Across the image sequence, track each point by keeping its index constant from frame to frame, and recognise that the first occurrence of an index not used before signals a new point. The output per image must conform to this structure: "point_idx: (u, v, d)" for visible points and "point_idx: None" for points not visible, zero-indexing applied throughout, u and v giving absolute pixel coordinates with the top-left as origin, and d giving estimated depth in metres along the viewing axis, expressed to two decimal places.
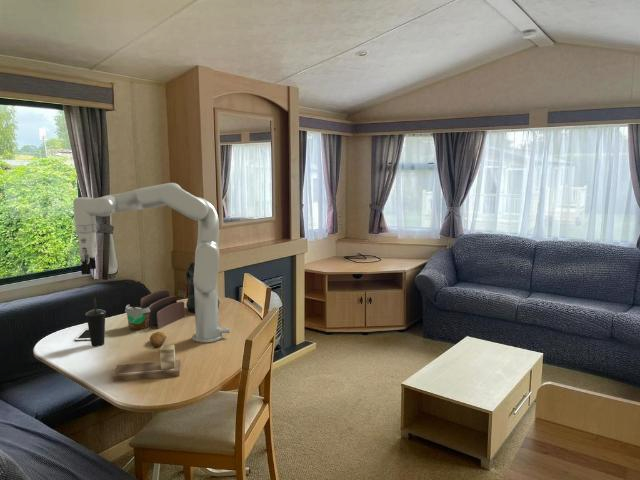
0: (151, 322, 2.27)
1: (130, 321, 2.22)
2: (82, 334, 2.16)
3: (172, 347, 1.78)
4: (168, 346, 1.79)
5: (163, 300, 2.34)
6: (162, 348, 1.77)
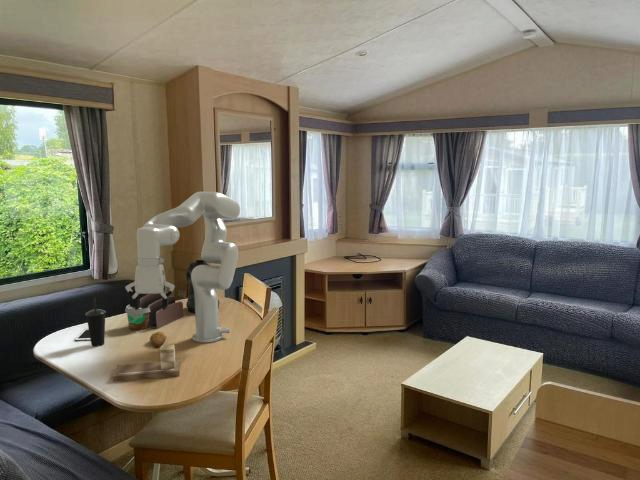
0: (150, 322, 2.27)
1: (130, 321, 2.23)
2: (82, 334, 2.16)
3: (172, 347, 1.78)
4: (168, 346, 1.79)
5: None
6: (162, 348, 1.77)
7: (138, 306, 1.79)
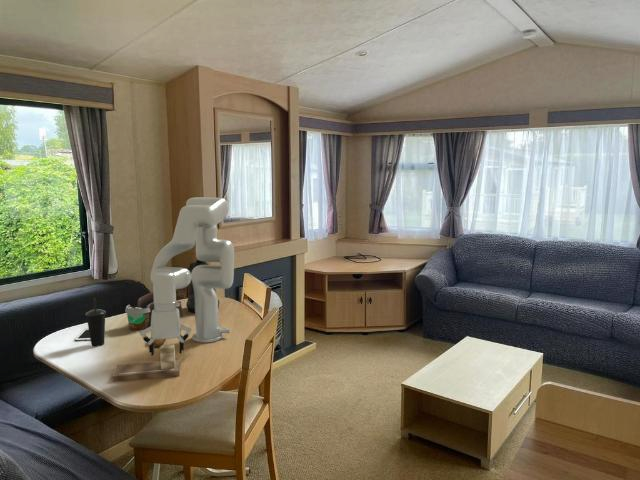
0: (149, 322, 2.27)
1: (130, 321, 2.23)
2: (82, 334, 2.16)
3: (172, 347, 1.78)
4: (168, 346, 1.79)
5: None
6: (162, 348, 1.77)
7: (153, 352, 1.77)
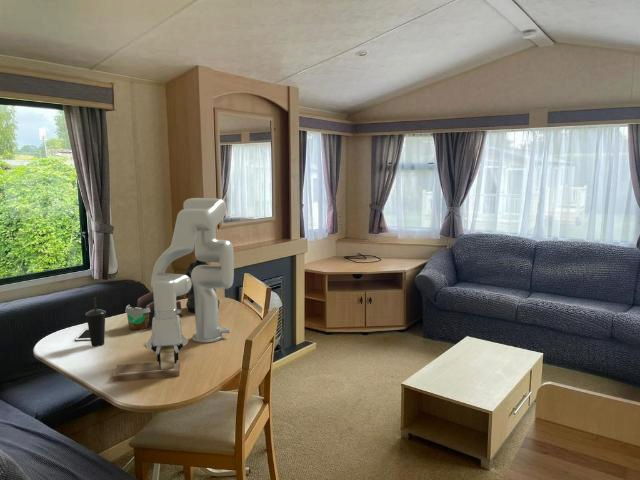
0: None
1: (130, 321, 2.22)
2: (82, 334, 2.16)
3: (172, 347, 1.78)
4: (168, 346, 1.79)
5: None
6: (162, 348, 1.77)
7: None
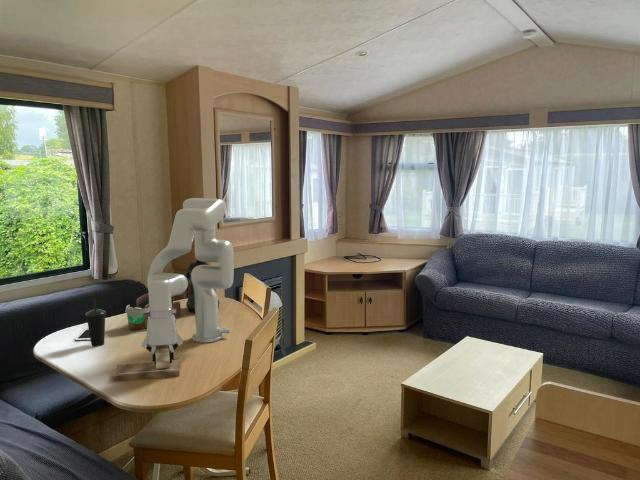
0: None
1: (130, 321, 2.22)
2: (82, 334, 2.16)
3: (167, 347, 1.78)
4: (163, 346, 1.79)
5: None
6: (157, 348, 1.77)
7: None
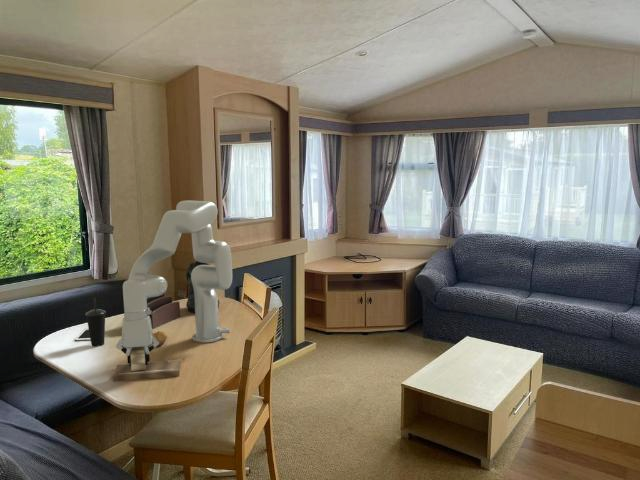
0: None
1: None
2: (82, 334, 2.16)
3: (143, 348, 1.76)
4: (139, 347, 1.77)
5: (158, 300, 2.34)
6: (132, 350, 1.75)
7: None
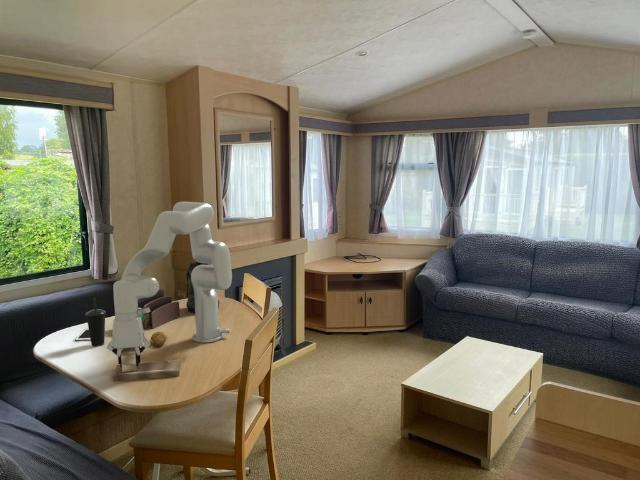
0: None
1: None
2: (82, 334, 2.16)
3: (134, 349, 1.75)
4: (130, 348, 1.76)
5: (158, 300, 2.34)
6: (123, 350, 1.74)
7: None
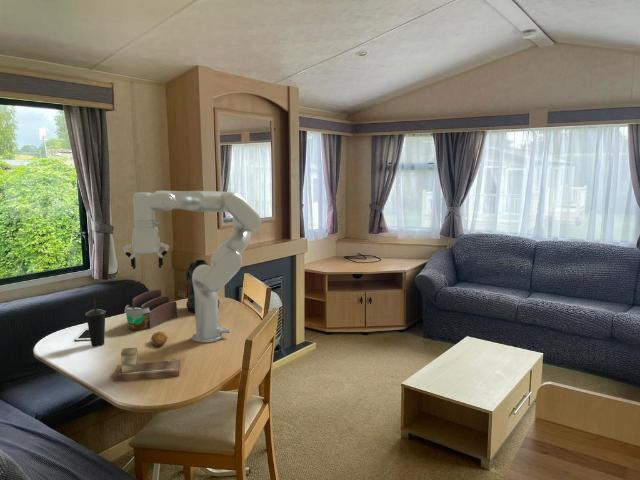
0: None
1: (130, 321, 2.22)
2: (82, 334, 2.16)
3: (134, 350, 1.75)
4: (130, 349, 1.76)
5: (155, 300, 2.34)
6: (123, 351, 1.74)
7: (135, 266, 1.95)
